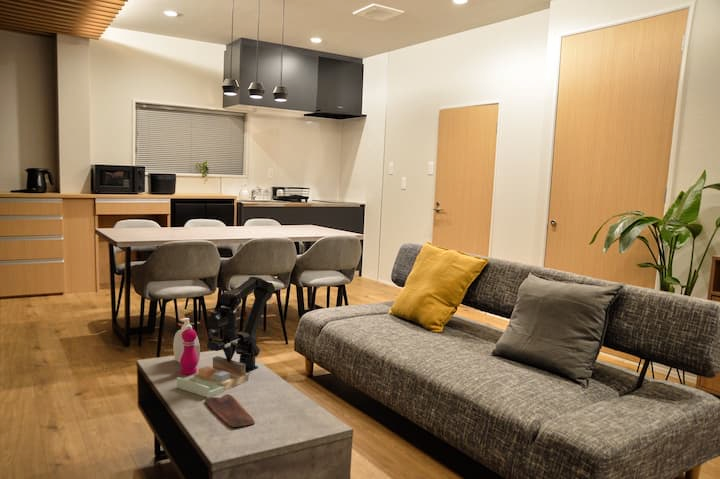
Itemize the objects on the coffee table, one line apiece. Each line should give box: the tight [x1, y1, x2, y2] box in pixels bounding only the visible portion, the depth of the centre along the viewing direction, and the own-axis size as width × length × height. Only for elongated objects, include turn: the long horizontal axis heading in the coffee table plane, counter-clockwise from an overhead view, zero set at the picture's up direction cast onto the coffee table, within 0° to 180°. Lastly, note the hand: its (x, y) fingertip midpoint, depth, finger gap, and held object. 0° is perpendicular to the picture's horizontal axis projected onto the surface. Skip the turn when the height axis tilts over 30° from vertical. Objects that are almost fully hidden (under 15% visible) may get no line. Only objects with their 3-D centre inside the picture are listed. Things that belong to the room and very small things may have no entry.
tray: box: [176, 376, 225, 399], centre depth 211 cm, size 8×17×4 cm, turn 58°
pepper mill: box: [179, 325, 199, 376], centre depth 228 cm, size 7×7×20 cm
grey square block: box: [213, 370, 230, 382], centre depth 214 cm, size 4×4×2 cm
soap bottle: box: [172, 317, 201, 366], centre depth 239 cm, size 16×5×20 cm, turn 43°
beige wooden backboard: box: [193, 369, 249, 392], centre depth 220 cm, size 14×16×3 cm
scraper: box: [212, 355, 246, 377], centre depth 223 cm, size 2×16×4 cm, turn 58°
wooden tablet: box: [204, 394, 256, 428], centre depth 192 cm, size 26×2×10 cm
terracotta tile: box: [198, 365, 215, 378], centre depth 218 cm, size 4×4×2 cm
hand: (228, 361), depth 223 cm, fingers closed, pressing on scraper
